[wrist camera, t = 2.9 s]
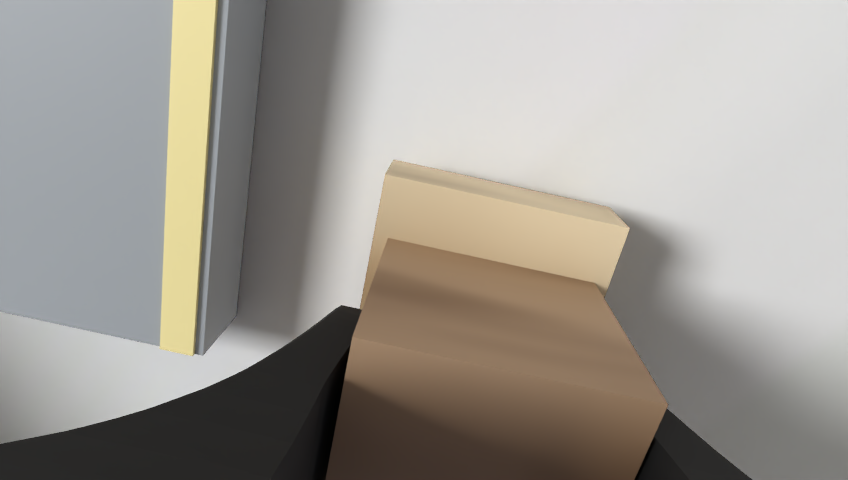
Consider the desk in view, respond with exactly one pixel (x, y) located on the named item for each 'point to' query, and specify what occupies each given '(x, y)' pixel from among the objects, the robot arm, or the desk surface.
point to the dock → (127, 163)
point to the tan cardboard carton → (491, 341)
